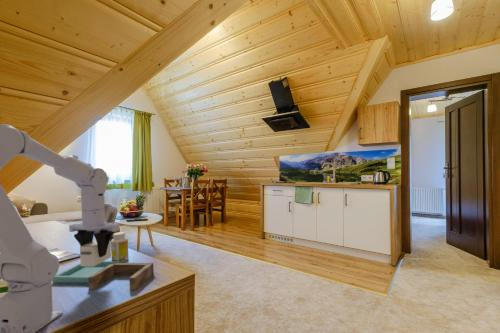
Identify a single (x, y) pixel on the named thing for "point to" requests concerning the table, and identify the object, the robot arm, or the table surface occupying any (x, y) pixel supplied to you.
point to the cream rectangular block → (92, 254)
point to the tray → (79, 273)
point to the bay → (123, 274)
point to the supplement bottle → (119, 247)
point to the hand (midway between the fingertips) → (95, 255)
